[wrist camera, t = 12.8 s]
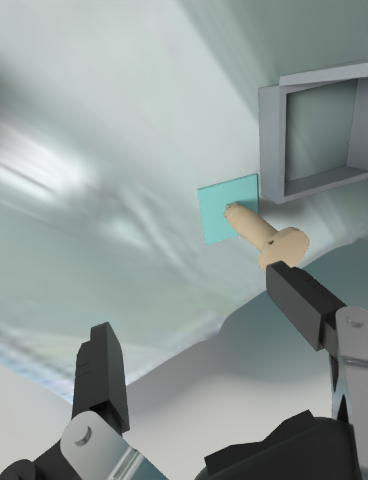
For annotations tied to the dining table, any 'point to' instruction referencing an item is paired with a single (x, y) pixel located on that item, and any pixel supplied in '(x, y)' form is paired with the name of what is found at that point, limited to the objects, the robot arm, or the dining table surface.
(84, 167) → the dining table surface
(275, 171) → the case
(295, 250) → the handle
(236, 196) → the pad
